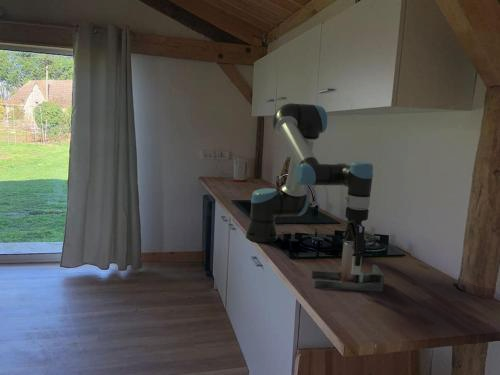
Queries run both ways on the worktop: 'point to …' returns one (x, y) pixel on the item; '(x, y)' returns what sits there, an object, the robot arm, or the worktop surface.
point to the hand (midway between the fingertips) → (351, 267)
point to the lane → (375, 277)
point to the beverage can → (347, 262)
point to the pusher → (363, 277)
